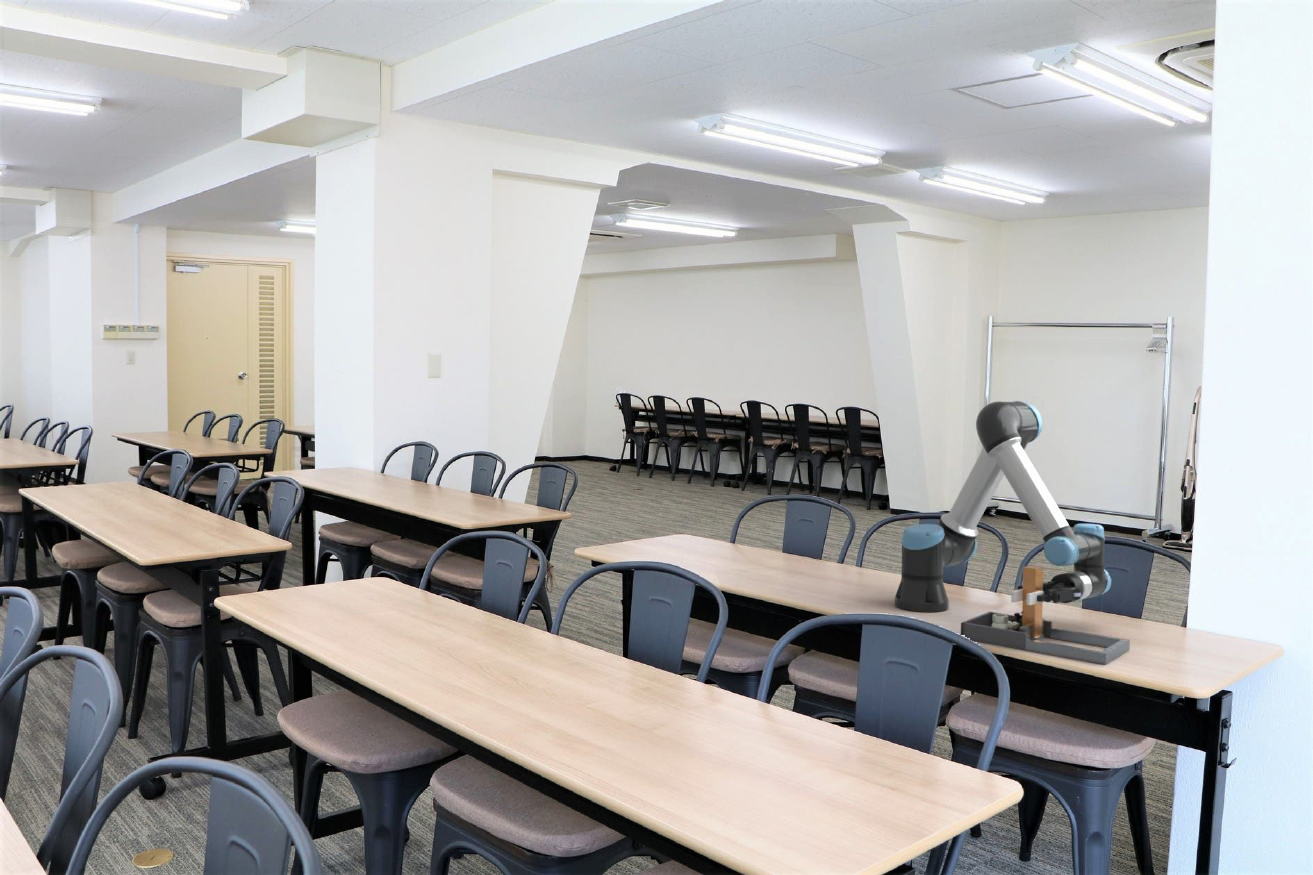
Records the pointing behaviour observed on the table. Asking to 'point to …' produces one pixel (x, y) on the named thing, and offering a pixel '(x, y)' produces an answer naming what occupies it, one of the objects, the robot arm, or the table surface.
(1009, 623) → the valve
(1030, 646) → the slot rails
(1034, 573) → the brown wooden block
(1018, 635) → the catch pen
